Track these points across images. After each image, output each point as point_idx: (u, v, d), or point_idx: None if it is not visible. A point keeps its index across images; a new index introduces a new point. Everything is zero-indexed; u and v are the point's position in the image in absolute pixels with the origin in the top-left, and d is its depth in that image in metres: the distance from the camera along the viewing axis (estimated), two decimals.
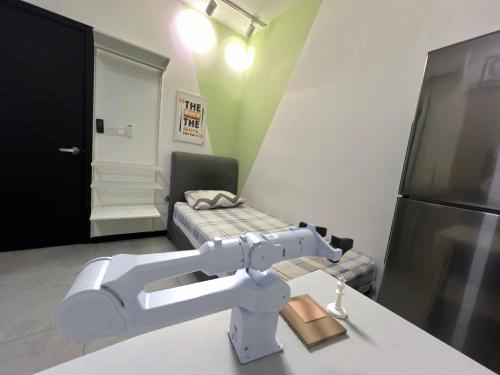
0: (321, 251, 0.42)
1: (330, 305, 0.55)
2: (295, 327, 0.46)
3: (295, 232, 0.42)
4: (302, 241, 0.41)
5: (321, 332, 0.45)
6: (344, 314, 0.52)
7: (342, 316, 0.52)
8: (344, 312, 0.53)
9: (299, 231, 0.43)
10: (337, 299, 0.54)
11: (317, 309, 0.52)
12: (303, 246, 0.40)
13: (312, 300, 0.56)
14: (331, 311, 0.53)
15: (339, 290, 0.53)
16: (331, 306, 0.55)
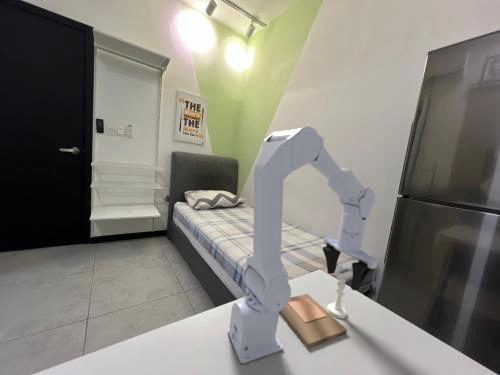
0: None
1: (330, 305, 0.55)
2: (295, 327, 0.46)
3: None
4: None
5: (321, 332, 0.45)
6: (344, 314, 0.52)
7: (342, 316, 0.52)
8: (344, 312, 0.53)
9: None
10: (337, 299, 0.54)
11: (317, 309, 0.52)
12: (362, 237, 0.50)
13: (312, 300, 0.56)
14: (331, 311, 0.53)
15: (339, 290, 0.53)
16: (331, 306, 0.55)
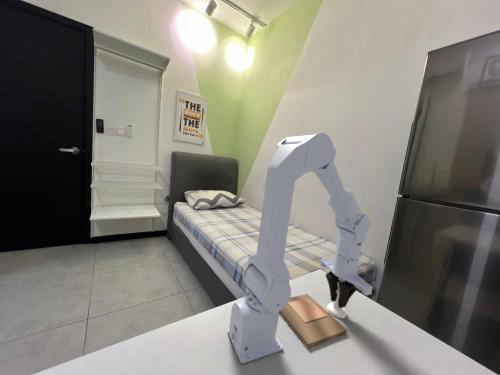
0: (353, 280, 0.50)
1: (330, 305, 0.55)
2: (295, 327, 0.46)
3: None
4: (358, 260, 0.51)
5: (321, 332, 0.45)
6: (344, 314, 0.52)
7: (342, 316, 0.52)
8: (344, 312, 0.53)
9: None
10: (337, 299, 0.54)
11: (317, 309, 0.52)
12: (357, 262, 0.51)
13: (312, 300, 0.56)
14: (331, 311, 0.53)
15: None
16: (331, 306, 0.55)
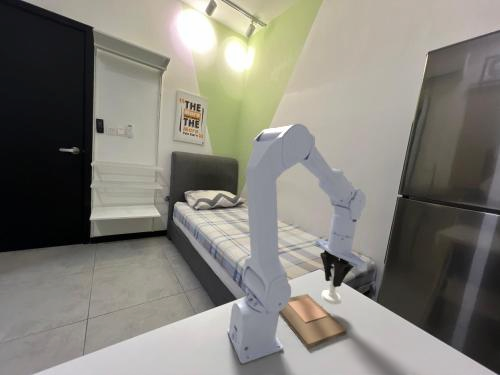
0: (347, 257, 0.49)
1: (325, 291, 0.54)
2: (295, 327, 0.46)
3: None
4: (353, 238, 0.50)
5: (321, 332, 0.45)
6: (338, 300, 0.51)
7: (336, 302, 0.51)
8: (338, 298, 0.52)
9: None
10: (331, 285, 0.53)
11: (317, 309, 0.52)
12: (352, 239, 0.49)
13: (312, 300, 0.56)
14: (325, 297, 0.52)
15: (332, 276, 0.52)
16: (325, 292, 0.54)
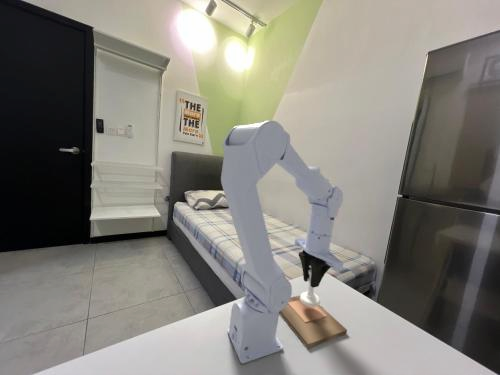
0: (324, 257, 0.47)
1: (303, 294, 0.53)
2: (295, 327, 0.46)
3: None
4: None
5: (321, 332, 0.45)
6: (316, 302, 0.50)
7: (314, 304, 0.50)
8: (317, 300, 0.51)
9: None
10: (309, 287, 0.51)
11: (317, 309, 0.52)
12: (329, 238, 0.48)
13: None
14: (303, 300, 0.51)
15: (310, 278, 0.51)
16: (304, 295, 0.52)
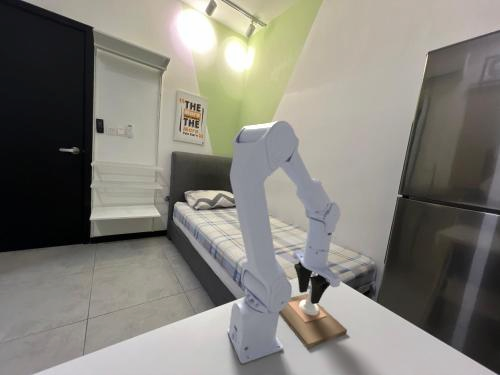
0: (321, 272, 0.47)
1: (303, 301, 0.53)
2: (295, 327, 0.46)
3: None
4: (328, 251, 0.49)
5: (321, 332, 0.45)
6: (315, 311, 0.50)
7: (313, 313, 0.50)
8: (316, 309, 0.51)
9: None
10: (309, 295, 0.52)
11: None
12: (327, 253, 0.48)
13: None
14: (302, 307, 0.51)
15: (311, 286, 0.51)
16: (303, 302, 0.53)
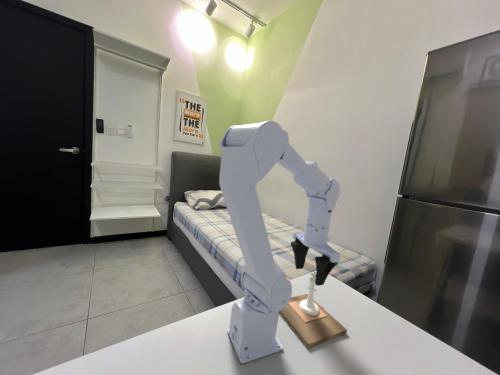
0: (321, 249, 0.47)
1: (303, 301, 0.53)
2: (295, 327, 0.46)
3: None
4: (328, 229, 0.49)
5: (321, 332, 0.45)
6: (315, 311, 0.50)
7: (313, 313, 0.50)
8: (316, 309, 0.51)
9: None
10: (309, 295, 0.52)
11: None
12: (327, 230, 0.48)
13: None
14: (302, 307, 0.51)
15: (311, 286, 0.51)
16: (303, 302, 0.53)
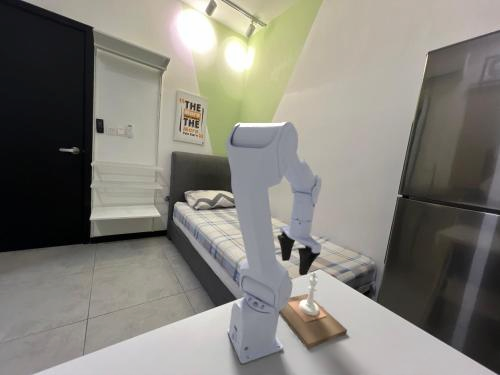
0: (304, 241, 0.50)
1: (303, 301, 0.53)
2: (295, 327, 0.46)
3: None
4: (311, 222, 0.52)
5: (321, 332, 0.45)
6: (315, 311, 0.50)
7: (313, 313, 0.50)
8: (316, 309, 0.51)
9: None
10: (309, 295, 0.52)
11: None
12: (310, 223, 0.51)
13: None
14: (302, 307, 0.51)
15: (311, 286, 0.51)
16: (303, 302, 0.53)
